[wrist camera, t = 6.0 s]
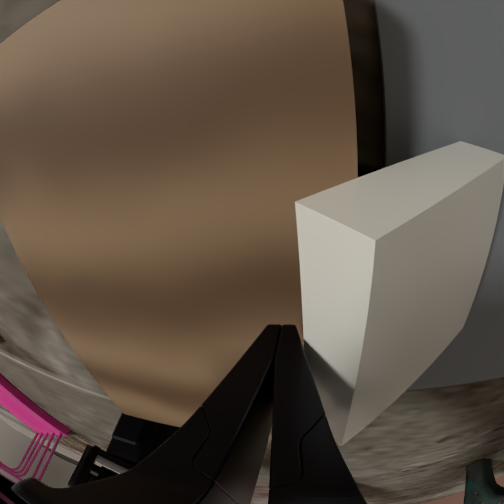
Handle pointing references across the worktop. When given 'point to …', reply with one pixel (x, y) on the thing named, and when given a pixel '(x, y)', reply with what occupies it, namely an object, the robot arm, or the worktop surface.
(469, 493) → the teal animal figurine
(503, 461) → the worktop surface
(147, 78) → the walnut deck
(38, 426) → the file sorter
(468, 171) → the cream tile
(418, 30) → the charcoal mat
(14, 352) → the worktop surface
